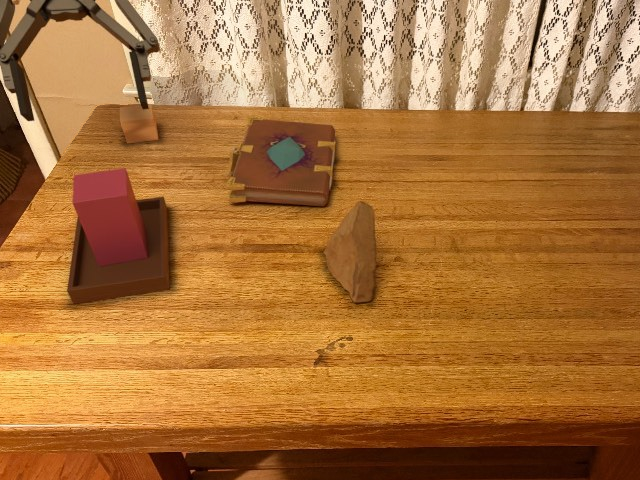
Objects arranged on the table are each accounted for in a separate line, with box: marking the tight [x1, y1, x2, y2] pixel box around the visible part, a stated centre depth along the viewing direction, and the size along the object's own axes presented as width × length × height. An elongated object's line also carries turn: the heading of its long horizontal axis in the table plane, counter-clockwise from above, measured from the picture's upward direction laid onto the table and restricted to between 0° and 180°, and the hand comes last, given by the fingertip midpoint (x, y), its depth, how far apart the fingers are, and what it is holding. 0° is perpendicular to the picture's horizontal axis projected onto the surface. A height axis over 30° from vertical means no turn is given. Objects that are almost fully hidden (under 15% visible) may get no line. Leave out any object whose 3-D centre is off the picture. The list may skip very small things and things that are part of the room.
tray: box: [66, 196, 171, 305], centre depth 78 cm, size 17×11×2 cm, turn 16°
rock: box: [323, 200, 377, 304], centre depth 75 cm, size 11×9×10 cm
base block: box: [119, 103, 159, 144], centre depth 99 cm, size 5×5×4 cm
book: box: [225, 115, 336, 207], centre depth 94 cm, size 16×25×5 cm, turn 1°
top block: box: [71, 167, 148, 266], centre depth 75 cm, size 6×6×10 cm
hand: (87, 111), depth 74 cm, fingers open, 13 cm apart
